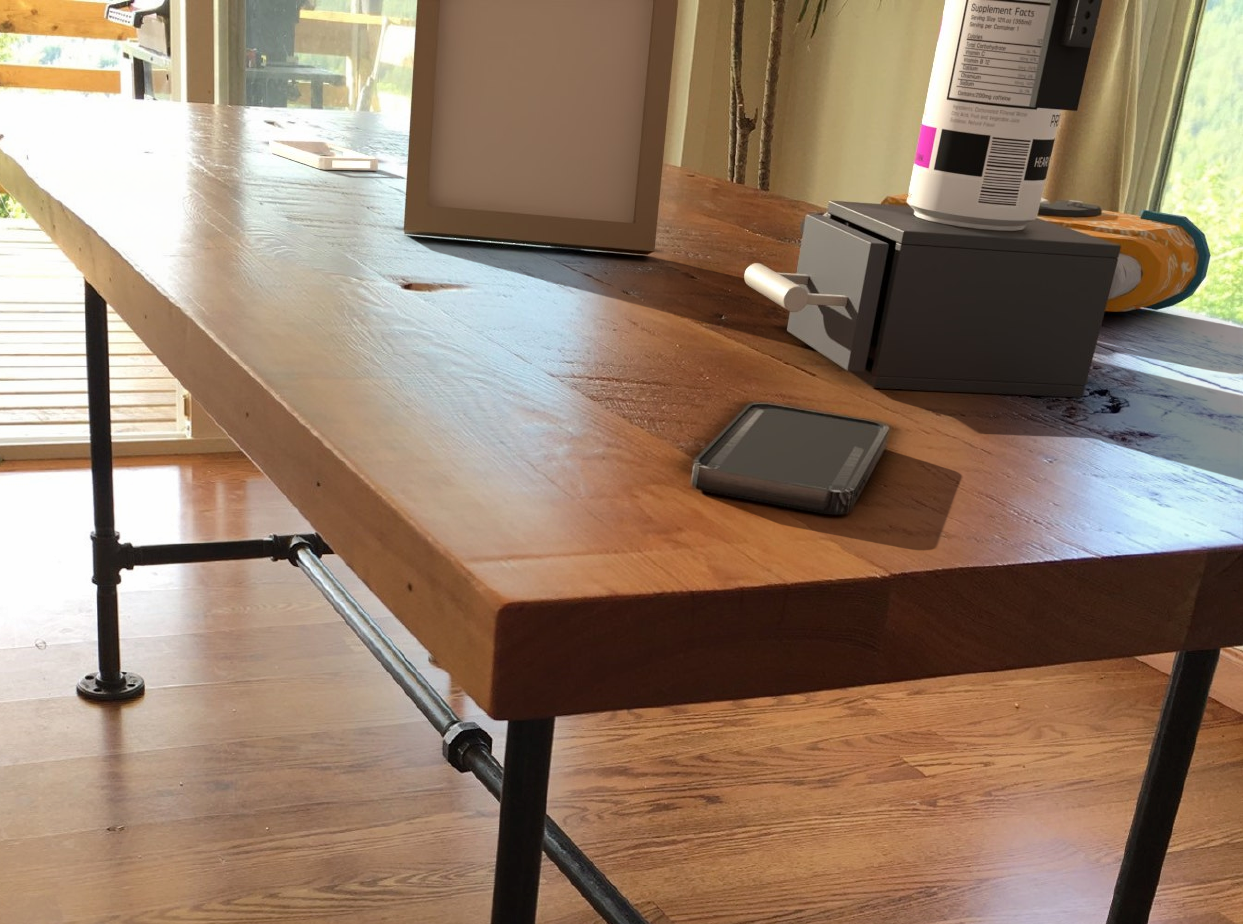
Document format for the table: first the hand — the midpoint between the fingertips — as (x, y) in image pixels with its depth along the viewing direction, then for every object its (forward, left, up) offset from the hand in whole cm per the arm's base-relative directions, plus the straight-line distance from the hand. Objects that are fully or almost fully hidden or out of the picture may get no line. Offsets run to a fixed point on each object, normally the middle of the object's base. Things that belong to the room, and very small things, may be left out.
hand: (999, 101), depth 95 cm
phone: (-24, +19, -17) cm, 35 cm away
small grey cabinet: (0, 0, -17) cm, 17 cm away
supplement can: (0, 0, -8) cm, 8 cm away
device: (+29, -18, -17) cm, 38 cm away
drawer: (0, +5, -16) cm, 17 cm away
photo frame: (+45, +20, -17) cm, 52 cm away
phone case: (+93, +35, -17) cm, 101 cm away
